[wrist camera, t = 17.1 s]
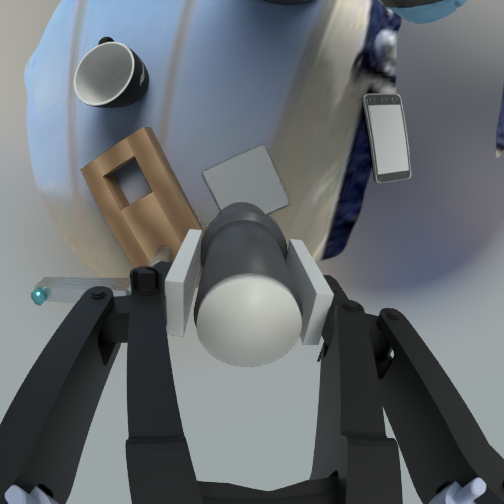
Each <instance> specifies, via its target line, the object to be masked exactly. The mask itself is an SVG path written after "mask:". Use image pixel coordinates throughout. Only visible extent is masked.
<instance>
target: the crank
mask: <svg viewBox="0 0 504 504" xmlns="http://www.w3.org/2000/svg"><path fill="white" fill-rule="evenodd" d="M95 286H104V287H108V288H110V289H111V290H112V291H113V295H114V296H127V295H131V283H130V278H72V277H44V278H43V279H42V280H41V281H40V282H39V283H38V284H37V285H36V286H35V287H34V288H35V290H34V291H33V292H32V293H31V297H32V300H33V301H34V303H35V304H37V305H41V304H42V303H43V302H44V301H54V302H66V303H77V302H78V300H79V299H80V298H81V296H82V295H83V294H84V292H85V291H87V290H88V289H90V288H92V287H95Z"/></svg>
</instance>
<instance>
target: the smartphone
mask: <svg viewBox="0 0 504 504" xmlns="http://www.w3.org/2000/svg"><path fill="white" fill-rule="evenodd" d="M362 102H363V107H364V112H365V117H366V123H367V129H368V135H369V141H370V148H371V156H372V163H373V167H372V171H373V179H374V181H375V182H378V183H386V182H393V181H399V180H405V179H409V178H410V177H411V165H410V155H409V147H408V138H407V130H406V124H405V118H404V112H403V106H402V101H401V97H400V95H398V94H365V95H363V96H362Z"/></svg>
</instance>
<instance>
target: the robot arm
mask: <svg viewBox="0 0 504 504" xmlns="http://www.w3.org/2000/svg"><path fill="white" fill-rule="evenodd" d="M264 1H267V2H271V3H277V4H288V5H289V4H300V3H305V2H308V1H311V0H264ZM378 1H380V2H381V4H382V5H383V6H384V7H386V8H388V9H391V10H392V11H393V12H395V13H396V14H398V15H399V16H400V17H402V18H403V19H404V20H406V21H408V22H412V23H416V24H423V23H430V22H434V21H437V20H439V19H441V18H444V17H446V16H448V15H450V14H452V13H453V12H455V11H456V8H457V7H460V6H462V5H463V4H464V3H465V2H466V1H467V0H378ZM201 239H202V230H194V229H189V231H188V233H187V235H186V237H185V239H184V241H183V243H182V246H181V248H180V250H179V252H178V254H177V256H176V258H175V260H174V262H165V261H160V262H158V263H156V264H155V265H154V266H153V267H152V266H142V267H137V268H135V269H133V270H132V271H131V272H130V283H131V295H127V296H114V295H113V291H112V290H111V289H110V288H108V287H104V286H95V287H92V288H90V289H88V290H87V291H85V292H84V294H83V295H82V296H81V298H80V299H79V300H78V302H77V303H76V304H75V306H74V307H73V308H72V310H71V311H70V312H69V314H68V315H67V316H66V318H65V319H64V321H63V322H62V323H61V325H60V326H59V328H58V329H57V330H56V332H55V333H54V335H53V336H52V338H51V339H50V341H49V342H48V344H47V345H46V347H45V348H44V350H43V351H42V353H41V354H40V356H39V357H38V359H37V360H36V362H35V364H34V365H33V367H32V368H31V370H30V372H29V374H28V375H27V377H26V378H25V380H24V382H23V383H22V385H21V387H20V389H19V390H18V392H17V394H16V396H15V397H14V399H13V401H12V403H11V405H10V407H9V409H8V410H7V413H6V414H5V416H4V418H3V421H2V422H1V424H0V504H65V503H66V501H67V499H68V497H69V495H70V492H71V489H72V486H73V483H74V479H75V476H76V472H77V468H78V464H79V461H80V457H81V454H82V451H83V447H84V444H85V441H86V438H87V435H88V431H89V428H90V425H91V422H92V419H93V416H94V413H95V411H96V408H97V405H98V402H99V399H100V397H101V394H102V391H103V388H104V386H105V383H106V380H107V378H108V375H109V373H110V370H111V368H112V365H113V363H114V360H115V358H116V355H117V353H118V350H119V348H120V346H121V343H125V342H128V347H127V411H128V431H129V438H128V440H126V460H127V470H128V479H129V486H130V493H131V500H132V504H403V502H402V484H401V470H400V459H399V451H398V445H399V447H400V450H401V452H402V455H403V458H404V460H405V463H406V466H407V468H408V471H409V474H410V477H411V479H412V482H413V485H414V487H415V489H416V492H417V494H418V496H419V497H420V499H421V501H422V503H423V504H504V459H503V458H502V457H501V456H500V455H499V454H498V453H497V452H496V451H495V450H494V449H493V448H492V447H491V446H490V445H489V443H488V442H487V440H486V438H485V436H484V434H483V432H482V431H481V429H480V427H479V426H478V424H477V422H476V420H475V419H474V417H473V415H472V413H471V412H470V410H469V409H468V407H467V405H466V404H465V402H464V400H463V399H462V397H461V396H460V394H459V393H458V391H457V389H456V388H455V387H454V385H453V383H452V382H451V380H450V379H449V377H448V376H447V374H446V373H445V371H444V370H443V368H442V367H441V365H440V364H439V362H438V361H437V360H436V358H435V357H434V355H433V354H432V352H431V351H430V350H429V349H428V347H427V346H426V344H425V343H424V341H423V340H422V339H421V337H420V336H419V335H418V333H417V332H416V330H415V329H414V328H413V326H412V325H411V324H410V322H409V321H408V320H407V319H406V317H405V316H404V315H403V314H402V313H400V312H399V311H398V310H396V309H393V308H391V309H390V308H384V309H382V310H381V311H380V314H379V316H375V315H370V314H366V313H365V312H364V308H363V307H362V306H361V305H360V304H359V303H357V302H355V301H352V300H349V299H348V298H347V296H346V294H345V293H344V291H343V290H342V288H341V287H340V285H339V283H338V282H337V281H336V280H335V279H334V278H333V277H331V276H330V275H322V273H321V271H320V270H319V268H318V266H317V265H316V263H315V261H314V260H313V258H312V256H311V255H310V253H309V251H308V250H307V248H306V246H305V245H304V243H303V242H302V240H296V239H290V241H289V246H288V252H287V258H286V264H287V266H288V269H289V271H290V274H291V276H292V279H293V281H294V284H295V286H296V289H297V291H298V293H299V296H300V299H301V301H302V306H303V316H302V329H301V333H300V336H301V340H302V343H303V345H305V344H306V345H318V344H319V341H320V338H321V335H322V337H323V339H324V343H323V346H322V349H321V352H320V355H319V358H318V360H317V361H318V362H319V361H320V359H321V371H320V390H319V404H318V417H317V429H316V439H315V450H314V458H313V466H312V473H311V476H310V479H309V480H306V481H303V482H300V483H297V484H294V485H291V486H287V487H284V488H281V489H277V490H273V491H263V490H257V489H252V488H247V487H243V486H238V485H234V484H230V483H216V482H202V481H197V480H196V476H195V472H194V469H193V465H192V461H191V457H190V453H189V449H188V445H187V442H186V438H185V436H184V432H183V428H182V423H181V419H180V413H179V409H178V403H177V398H176V392H175V386H174V381H173V375H172V368H171V362H170V354H169V347H168V339H167V335H175V336H184V333H185V329H186V324H187V320H188V316H189V312H190V307H191V303H192V299H193V295H194V291H195V287H196V283H197V280H198V276H199V272H200V255H201ZM166 327H167V331H166ZM392 350H393V351H394V357H393V358H392V357H391V355H390V354H391V352H392ZM382 405H383V408H384V410H385V412H386V415H387V417H388V420H389V422H390V424H391V427H392V430H393V432H394V435H395V437H396V440H397V441H396V440H395V439H394V438H387V436H386V432H385V423H384V416H383V408H382ZM397 442H398V445H397Z"/></svg>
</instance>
